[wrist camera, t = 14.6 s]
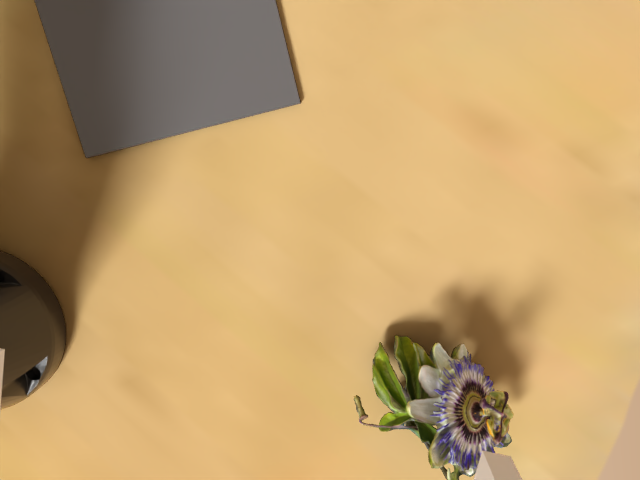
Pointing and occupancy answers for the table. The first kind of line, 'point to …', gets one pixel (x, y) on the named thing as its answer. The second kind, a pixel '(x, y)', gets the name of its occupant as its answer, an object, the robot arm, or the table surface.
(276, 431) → the table surface
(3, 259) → the robot arm
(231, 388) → the table surface
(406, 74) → the table surface
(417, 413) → the passion flower
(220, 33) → the mat
